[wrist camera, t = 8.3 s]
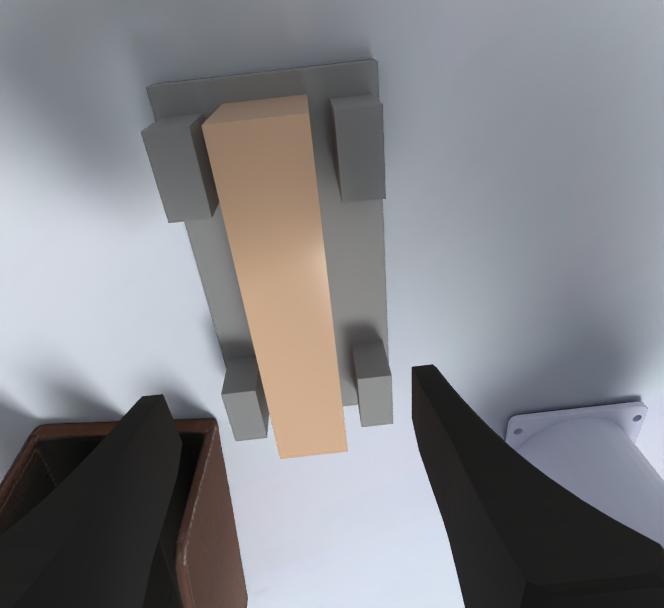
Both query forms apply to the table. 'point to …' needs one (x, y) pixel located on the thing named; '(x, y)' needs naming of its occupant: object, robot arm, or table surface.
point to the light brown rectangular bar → (281, 264)
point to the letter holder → (180, 521)
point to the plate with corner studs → (336, 213)
